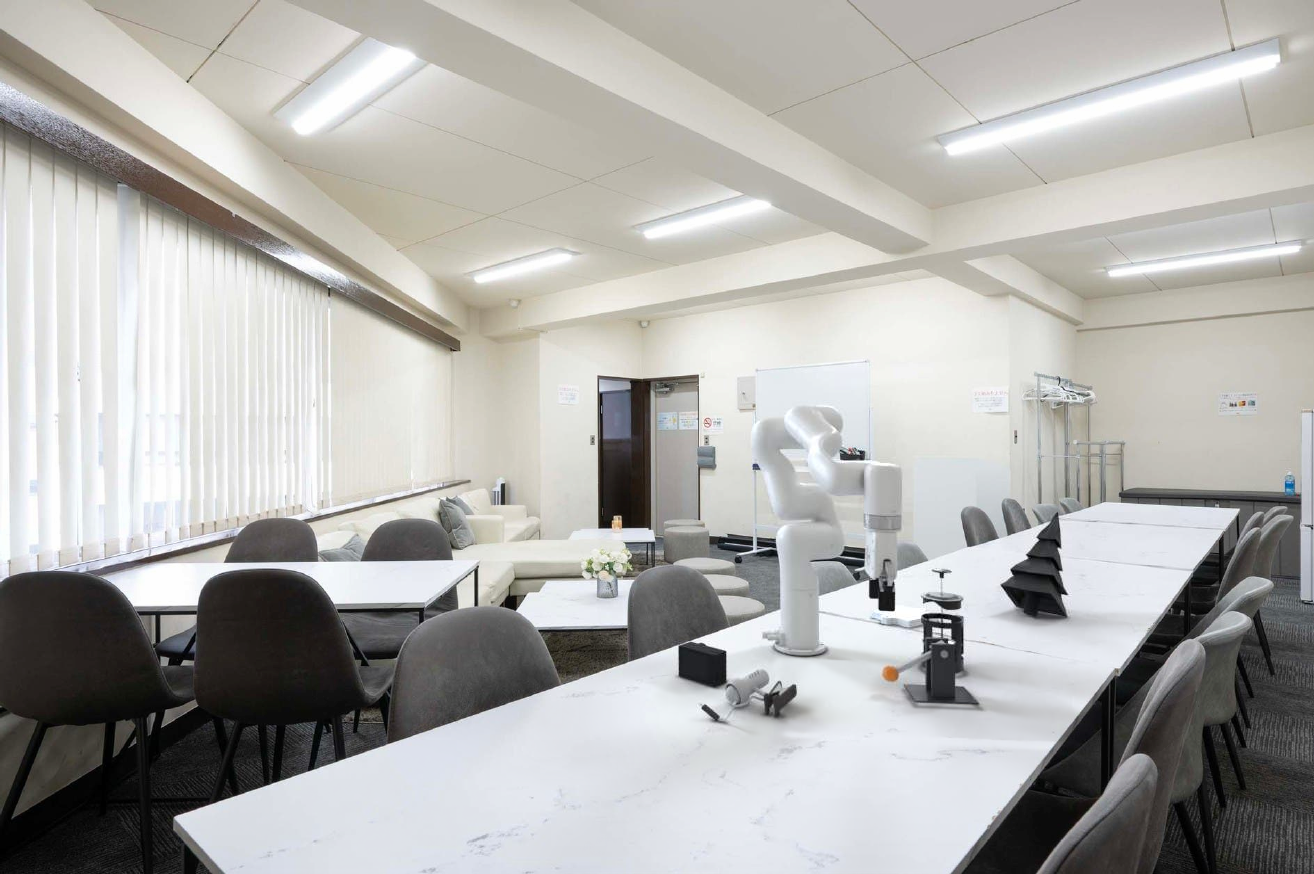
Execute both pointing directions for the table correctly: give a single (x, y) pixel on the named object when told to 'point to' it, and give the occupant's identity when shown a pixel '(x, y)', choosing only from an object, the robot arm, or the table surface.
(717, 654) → the digital camera
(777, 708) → the clip-on lamp
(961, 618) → the french press
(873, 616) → the mounting plate
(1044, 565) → the decorative tree
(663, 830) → the table surface
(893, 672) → the switch lever
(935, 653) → the switch bracket
